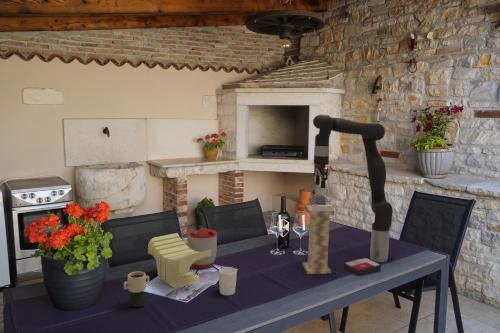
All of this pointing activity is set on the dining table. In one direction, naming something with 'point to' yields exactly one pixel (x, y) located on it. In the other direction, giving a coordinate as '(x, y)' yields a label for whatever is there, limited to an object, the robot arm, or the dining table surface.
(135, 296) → the character mug
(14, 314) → the dining table surface
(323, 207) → the power strip
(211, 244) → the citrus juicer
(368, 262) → the black red flat box
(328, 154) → the robot arm
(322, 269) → the pedestal column stand
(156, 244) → the slatted curved stool
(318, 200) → the charger
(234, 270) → the white cup
